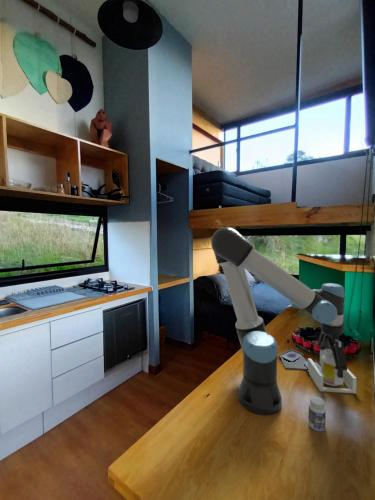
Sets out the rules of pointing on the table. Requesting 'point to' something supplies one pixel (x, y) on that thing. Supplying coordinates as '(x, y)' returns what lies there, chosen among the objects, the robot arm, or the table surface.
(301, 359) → the trivet
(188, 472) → the table surface
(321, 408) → the pill bottle
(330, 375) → the supplement bottle
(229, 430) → the table surface
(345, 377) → the holder
